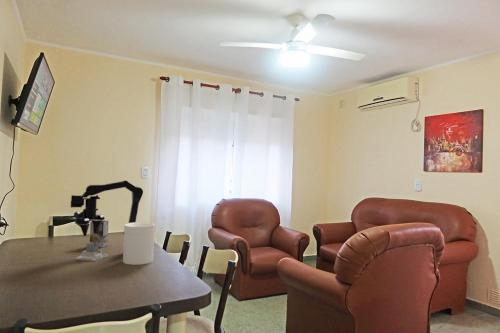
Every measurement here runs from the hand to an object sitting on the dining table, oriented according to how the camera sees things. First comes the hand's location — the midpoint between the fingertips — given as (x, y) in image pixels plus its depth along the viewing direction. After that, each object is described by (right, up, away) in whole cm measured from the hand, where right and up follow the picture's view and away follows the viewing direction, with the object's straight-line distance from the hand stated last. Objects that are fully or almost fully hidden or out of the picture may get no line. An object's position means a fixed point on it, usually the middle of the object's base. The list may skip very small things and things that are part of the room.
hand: (90, 234), depth 192 cm
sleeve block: (+3, -12, -3) cm, 13 cm away
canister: (+30, -14, -6) cm, 33 cm away
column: (+3, -11, -3) cm, 12 cm away
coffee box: (-6, -13, +24) cm, 28 cm away
